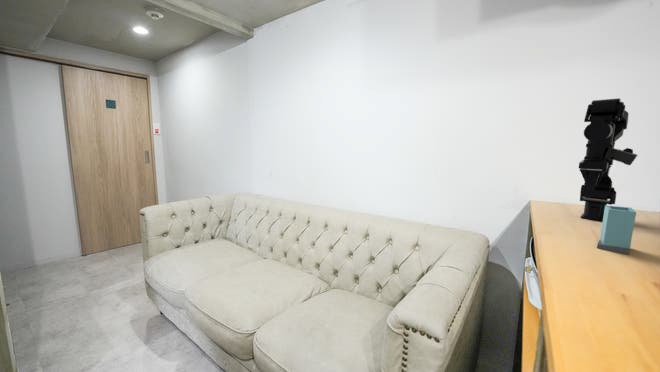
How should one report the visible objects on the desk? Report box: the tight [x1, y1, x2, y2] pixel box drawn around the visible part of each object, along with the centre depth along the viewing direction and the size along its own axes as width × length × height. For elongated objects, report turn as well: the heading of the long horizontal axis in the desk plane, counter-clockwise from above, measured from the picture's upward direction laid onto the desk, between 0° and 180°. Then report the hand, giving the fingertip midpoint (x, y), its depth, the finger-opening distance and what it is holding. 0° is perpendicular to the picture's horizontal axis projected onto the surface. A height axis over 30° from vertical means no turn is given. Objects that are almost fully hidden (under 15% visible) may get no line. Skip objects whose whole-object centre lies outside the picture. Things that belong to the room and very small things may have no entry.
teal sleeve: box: [599, 204, 637, 250], centre depth 75 cm, size 5×5×10 cm
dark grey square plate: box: [596, 239, 632, 256], centre depth 75 cm, size 6×6×4 cm
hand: (593, 188), depth 90 cm, fingers open, 9 cm apart
